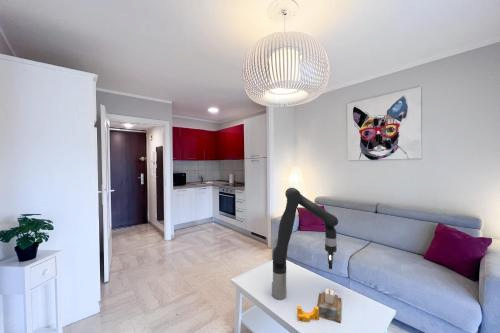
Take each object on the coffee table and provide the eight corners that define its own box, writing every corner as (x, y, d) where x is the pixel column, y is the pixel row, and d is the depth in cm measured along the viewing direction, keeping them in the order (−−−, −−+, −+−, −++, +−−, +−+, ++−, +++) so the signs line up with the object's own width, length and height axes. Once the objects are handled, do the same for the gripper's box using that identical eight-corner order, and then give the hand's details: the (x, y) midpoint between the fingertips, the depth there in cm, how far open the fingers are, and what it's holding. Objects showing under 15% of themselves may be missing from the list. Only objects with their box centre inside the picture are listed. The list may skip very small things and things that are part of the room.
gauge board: (315, 315, 127) (315, 305, 127) (319, 294, 147) (319, 285, 147) (340, 323, 122) (340, 312, 121) (341, 300, 142) (341, 290, 141)
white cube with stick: (325, 302, 137) (325, 289, 137) (325, 296, 143) (325, 284, 142) (333, 304, 135) (333, 291, 135) (333, 298, 141) (333, 286, 140)
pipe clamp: (298, 321, 123) (298, 310, 123) (297, 316, 127) (297, 305, 127) (319, 322, 122) (319, 311, 122) (317, 316, 127) (317, 306, 126)
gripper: (325, 239, 153) (325, 263, 153) (324, 246, 141) (323, 272, 141) (336, 241, 150) (336, 265, 150) (336, 248, 138) (336, 274, 138)
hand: (330, 268), depth 146 cm, fingers closed
